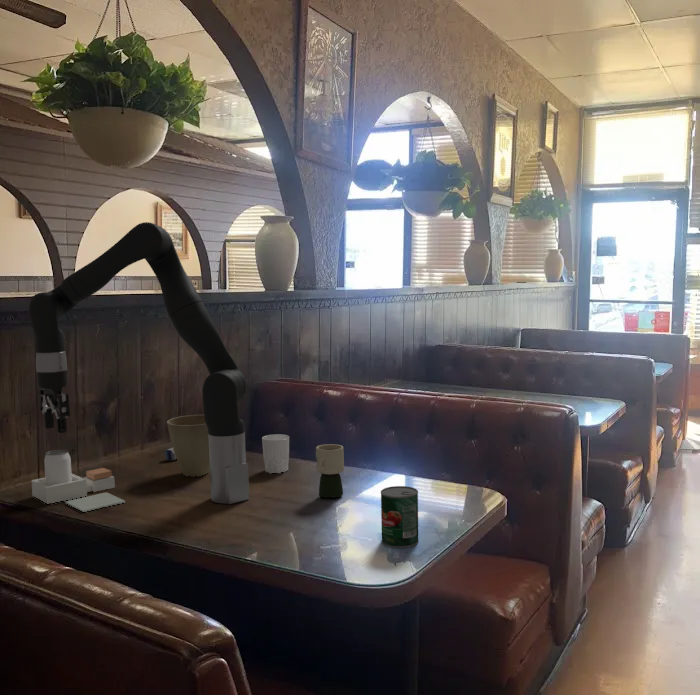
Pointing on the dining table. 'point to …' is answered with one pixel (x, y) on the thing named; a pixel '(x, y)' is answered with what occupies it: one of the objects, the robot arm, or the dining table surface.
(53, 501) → the white piece
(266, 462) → the white cup
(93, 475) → the light brown square block
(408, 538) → the canned tomato
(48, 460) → the can
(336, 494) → the character mug
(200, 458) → the plant pot
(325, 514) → the dining table surface
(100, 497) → the pad
